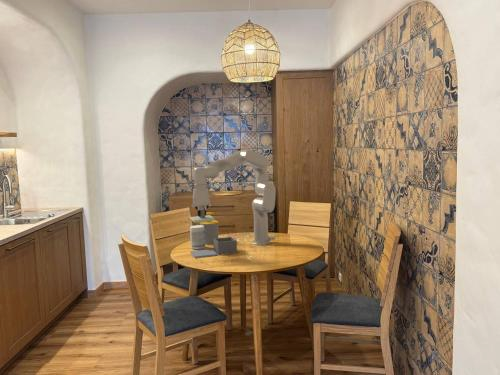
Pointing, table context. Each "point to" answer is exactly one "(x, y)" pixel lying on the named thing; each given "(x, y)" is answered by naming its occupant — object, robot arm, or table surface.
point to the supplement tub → (197, 237)
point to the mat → (203, 253)
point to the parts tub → (225, 245)
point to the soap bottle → (210, 230)
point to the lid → (202, 217)
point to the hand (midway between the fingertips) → (202, 216)
